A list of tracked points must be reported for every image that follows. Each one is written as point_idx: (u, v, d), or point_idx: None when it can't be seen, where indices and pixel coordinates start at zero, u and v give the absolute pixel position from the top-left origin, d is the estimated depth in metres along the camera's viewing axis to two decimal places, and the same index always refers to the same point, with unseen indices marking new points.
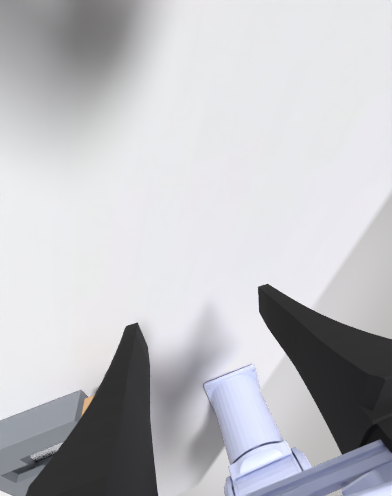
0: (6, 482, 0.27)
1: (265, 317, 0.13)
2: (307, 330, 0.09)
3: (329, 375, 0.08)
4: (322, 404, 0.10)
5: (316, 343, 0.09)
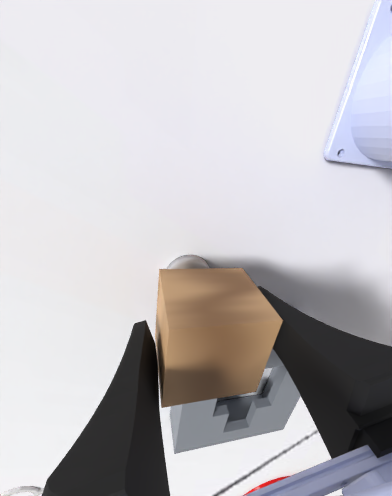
0: (239, 432, 0.23)
1: None
2: (296, 334, 0.09)
3: (318, 379, 0.08)
4: (312, 408, 0.10)
5: (305, 347, 0.09)
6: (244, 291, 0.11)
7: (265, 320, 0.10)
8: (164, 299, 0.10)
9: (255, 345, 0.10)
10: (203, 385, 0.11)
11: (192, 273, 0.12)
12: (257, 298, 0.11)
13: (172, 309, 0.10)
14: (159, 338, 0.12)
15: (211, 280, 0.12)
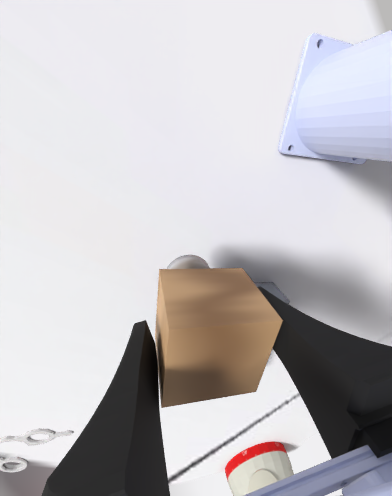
0: None
1: None
2: (296, 334, 0.09)
3: (318, 379, 0.08)
4: (312, 408, 0.10)
5: (305, 347, 0.09)
6: (244, 291, 0.11)
7: (265, 320, 0.10)
8: (164, 299, 0.10)
9: (255, 345, 0.10)
10: (203, 385, 0.11)
11: (192, 273, 0.12)
12: (257, 298, 0.11)
13: (172, 309, 0.10)
14: (159, 338, 0.12)
15: (211, 280, 0.12)
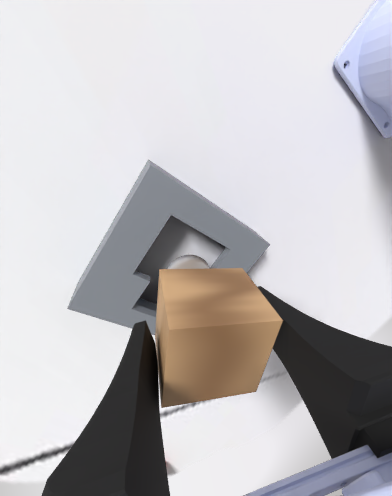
0: (147, 319, 0.21)
1: None
2: (296, 334, 0.09)
3: (318, 379, 0.08)
4: (312, 408, 0.10)
5: (305, 347, 0.09)
6: (244, 291, 0.11)
7: (265, 320, 0.10)
8: (164, 299, 0.10)
9: (255, 345, 0.10)
10: (203, 385, 0.11)
11: (192, 273, 0.12)
12: (257, 298, 0.11)
13: (172, 309, 0.10)
14: (159, 338, 0.12)
15: (211, 280, 0.12)
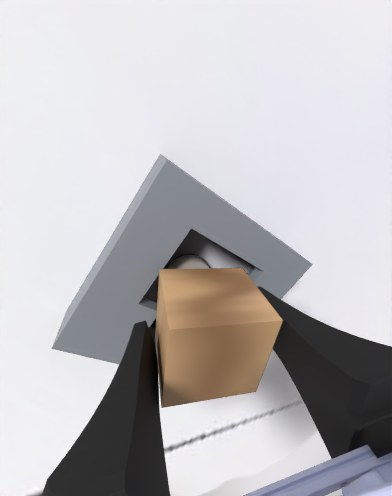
0: None
1: None
2: (296, 334, 0.09)
3: (318, 379, 0.08)
4: (312, 408, 0.10)
5: (305, 347, 0.09)
6: (244, 291, 0.11)
7: (265, 320, 0.10)
8: (164, 299, 0.10)
9: (255, 345, 0.10)
10: (203, 385, 0.11)
11: (192, 273, 0.12)
12: (257, 298, 0.11)
13: (172, 309, 0.10)
14: (159, 338, 0.12)
15: (211, 280, 0.12)
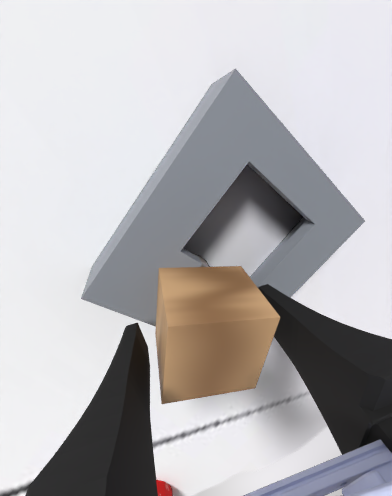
0: None
1: None
2: (307, 330, 0.09)
3: (329, 375, 0.08)
4: (322, 404, 0.10)
5: (316, 343, 0.09)
6: (242, 289, 0.12)
7: (263, 317, 0.10)
8: (163, 297, 0.10)
9: (253, 342, 0.10)
10: (202, 381, 0.11)
11: (190, 271, 0.13)
12: (255, 296, 0.11)
13: (171, 307, 0.10)
14: (159, 336, 0.12)
15: (210, 278, 0.12)
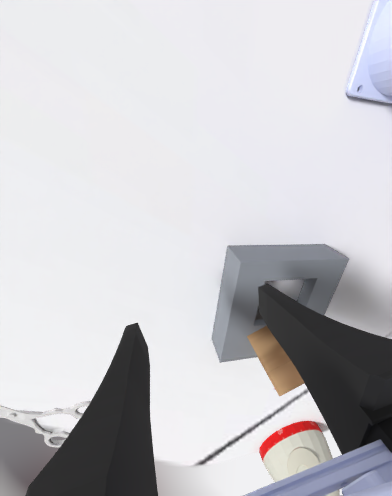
0: None
1: (265, 317, 0.13)
2: (307, 330, 0.09)
3: (329, 375, 0.08)
4: (321, 404, 0.10)
5: (316, 343, 0.09)
6: None
7: None
8: None
9: None
10: (293, 382, 0.23)
11: (262, 332, 0.24)
12: None
13: (263, 361, 0.22)
14: None
15: None
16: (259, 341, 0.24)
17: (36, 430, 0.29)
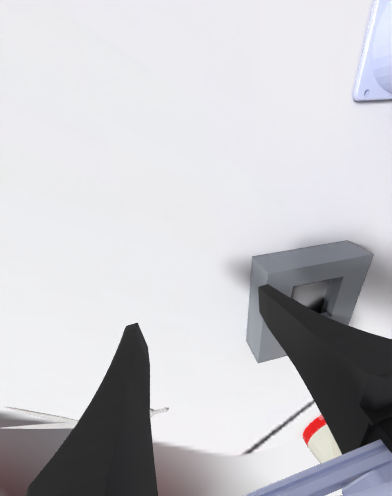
0: None
1: (265, 317, 0.13)
2: (307, 330, 0.09)
3: (329, 375, 0.08)
4: (322, 404, 0.10)
5: (316, 343, 0.09)
6: None
7: None
8: None
9: None
10: None
11: None
12: None
13: None
14: None
15: None
16: None
17: None
